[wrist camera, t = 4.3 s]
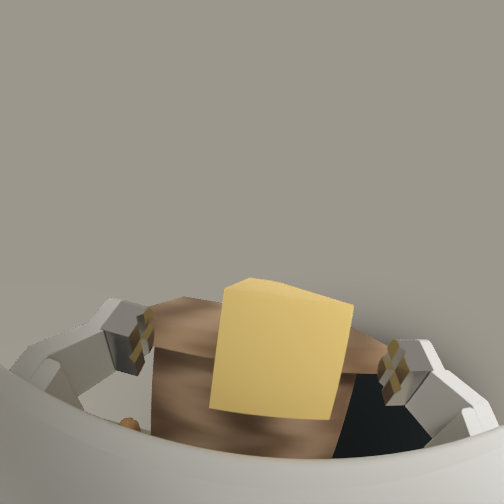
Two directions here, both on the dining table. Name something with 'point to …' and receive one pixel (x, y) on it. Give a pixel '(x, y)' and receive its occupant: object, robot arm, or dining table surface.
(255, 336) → the mustard rod
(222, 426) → the walnut pedestal
